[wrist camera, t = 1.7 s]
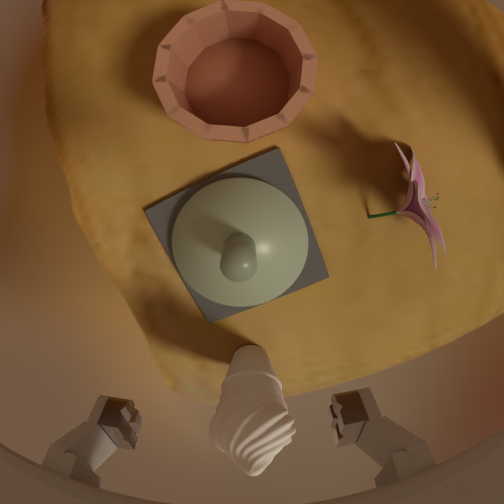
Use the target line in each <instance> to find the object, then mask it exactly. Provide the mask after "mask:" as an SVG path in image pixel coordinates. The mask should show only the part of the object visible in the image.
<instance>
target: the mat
mask: <svg viewBox="0 0 504 504" xmlns="http://www.w3.org/2000/svg"><path fill="white" fill-rule="evenodd" d="M234 177H246V178H253V179H257V180H261V181H264V182H266V183H269V184H271V185H273V186H275V187H276V188H278V189H279V190H281V191H282V192H283V193H284V194H286V195H287V196H288V197H289V198H290V199H291V200H292V202H293V203H294V204H295V205H296V207H297V208H298V210H299V211H300V213H301V215H302V217H303V219H304V221H305V225H306V228H307V233H308V254H307V258H306V262H305V264H304V267H303V269H302V271H301V273H300V275H299V276H298V278H297V279H296V280H295V282H294V283H293V284H292V285H291V286H290V287H289V288H288V289H287V290H286V291H285V292H283V293H282V294H281V295H279V296H277V297H276V298H279V297H281V296H284V295H286V294H289V293H291V292H294V291H296V290H299V289H301V288H304V287H306V286H309V285H311V284H314V283H316V282H318V281H321V280H323V279H326V278H328V277H329V275H328V272H327V269H326V266H325V263H324V260H323V257H322V255H321V252H320V249H319V246H318V243H317V241H316V238H315V235H314V233H313V230H312V227H311V224H310V222H309V219H308V217H307V214H306V211H305V209H304V206H303V204H302V201H301V199H300V196H299V193H298V191H297V189H296V186H295V184H294V181H293V179H292V176H291V174H290V171H289V169H288V167H287V164H286V162H285V160H284V157H283V155H282V153H281V150H280V148H277V149H274V150H272V151H269V152H267V153H265V154H262V155H260V156H257V157H255V158H253V159H250V160H248V161H246V162H243V163H241V164H239V165H237V166H234V167H232V168H230V169H228V170H225V171H223V172H221V173H219V174H217V175H215V176H212V177H210V178H208V179H206V180H204V181H202V182H200V183H198V184H196V185H194V186H192V187H190V188H187V189H185V190H183V191H181V192H179V193H178V194H176V195H174V196H172V197H170V198H168V199H166V200H164V201H162V202H160V203H158V204H156V205H154V206H153V207H151V208H149V209H147V210H145V213H146V215H147V217H148V219H149V221H150V223H151V224H152V226H153V228H154V230H155V232H156V234H157V236H158V237H159V239H160V241H161V243H162V245H163V246H164V248H165V250H166V252H167V254H168V255H169V257H170V259H171V261H172V262H173V264H174V266H175V268H176V269H177V271H178V273H179V275H180V276H181V278H182V280H183V281H184V283H185V285H186V286H187V288H188V290H189V291H190V293H191V295H192V296H193V298H194V300H195V301H196V303H197V305H198V306H199V308H200V309H201V311H202V313H203V314H204V316H205V317H206V319H207V320H208V322H209V323H211V322H214V321H217V320H220V319H222V318H225V317H228V316H231V315H234V314H236V313H239V312H242V311H244V310H247V309H250V308H253V307H255V306H258V305H254V306H245V307H235V306H228V305H223V304H219V303H216V302H214V301H211V300H209V299H207V298H205V297H204V296H202V295H201V294H199V293H198V292H196V291H195V290H194V289H193V288H192V287H191V286H190V285H189V284H188V283H187V282H186V281H185V279H184V278H183V276H182V275H181V273H180V272H179V270H178V268H177V266H176V263H175V260H174V256H173V251H172V233H173V228H174V224H175V221H176V219H177V216H178V214H179V213H180V211H181V209H182V208H183V206H184V205H185V204H186V202H187V201H188V200H189V199H190V198H191V197H192V196H193V195H194V194H195V193H197V192H198V191H199V190H200V189H202V188H203V187H205V186H207V185H209V184H211V183H213V182H216V181H218V180H222V179H227V178H234ZM276 298H274V299H276ZM274 299H272V300H274ZM270 301H271V300H270ZM265 303H266V302H265ZM262 304H263V303H262ZM259 305H260V304H259Z"/></svg>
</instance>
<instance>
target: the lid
mask: <svg viewBox="0 0 504 504" xmlns="http://www.w3.org/2000/svg"><path fill="white" fill-rule="evenodd" d="M172 251H173V256H174V260H175V263H176V266H177V268H178V270H179V272H180V273H181V275H182V276H183V278H184V279H185V281H186V282H187V283H188V284H189V285H190V286H191V287H192V288H193V289H194V290H195V291H196V292H198V293H199V294H201V295H202V296H204V297H205V298H207V299H209V300H211V301H214V302H216V303H219V304H223V305H228V306H235V307H245V306H254V305H259V304H262V303H265V302H268V301H270V300H272V299H274V298H276V297H277V296H279V295H281V294H282V293H283V292H285V291H286V290H287V289H288V288H289V287H290V286H291V285H292V284H293V283H294V282H295V280H296V279H297V278H298V276H299V275H300V273H301V271H302V269H303V267H304V264H305V262H306V258H307V254H308V233H307V228H306V225H305V221H304V219H303V217H302V215H301V213H300V211H299V210H298V208H297V207H296V205H295V204H294V203H293V202H292V200H291V199H290V198H289V197H288V196H287V195H286V194H284V193H283V192H282V191H281V190H279V189H278V188H276V187H275V186H273V185H271V184H269V183H266V182H264V181H261V180H257V179H253V178H246V177H234V178H227V179H222V180H218V181H216V182H213V183H211V184H209V185H207V186H205V187H203V188H202V189H200V190H199V191H198V192H197V193H195V194H194V195H193V196H192V197H191V198H190V199H189V200H188V201H187V202H186V204H185V205H184V206H183V208H182V209H181V211H180V213H179V214H178V216H177V219H176V221H175V224H174V228H173V233H172Z"/></svg>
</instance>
